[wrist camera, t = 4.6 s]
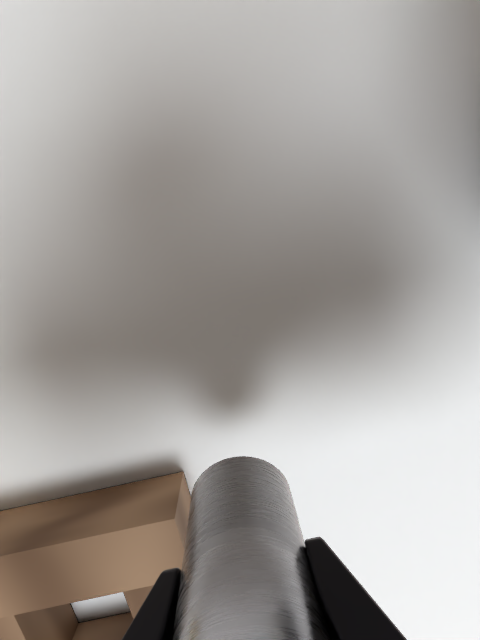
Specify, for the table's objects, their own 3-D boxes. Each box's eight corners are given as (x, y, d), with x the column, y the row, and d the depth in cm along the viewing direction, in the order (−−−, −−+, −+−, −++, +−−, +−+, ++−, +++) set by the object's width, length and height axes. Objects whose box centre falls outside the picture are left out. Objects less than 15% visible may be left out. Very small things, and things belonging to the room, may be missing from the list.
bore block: (183, 471, 15) (174, 518, 12) (230, 634, 17) (231, 702, 14) (-33, 518, 15) (-87, 575, 12) (43, 674, 17) (11, 749, 14)
